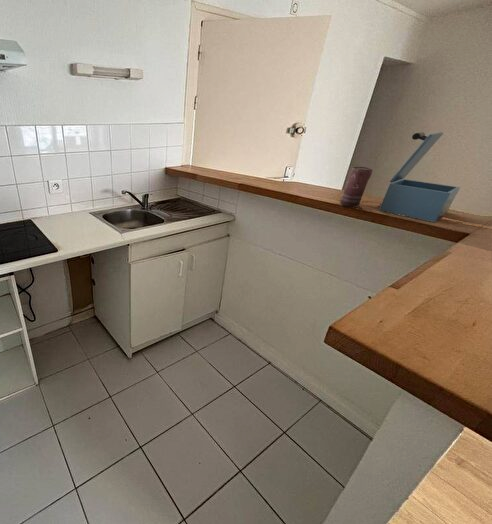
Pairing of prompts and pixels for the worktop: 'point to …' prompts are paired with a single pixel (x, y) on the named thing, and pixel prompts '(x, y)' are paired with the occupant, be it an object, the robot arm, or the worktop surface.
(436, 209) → the blue hinged box
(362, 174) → the can
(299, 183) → the worktop surface
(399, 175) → the blue box lid
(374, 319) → the worktop surface
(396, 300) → the worktop surface
